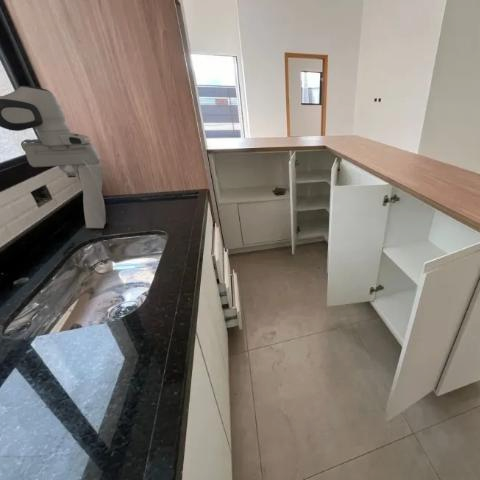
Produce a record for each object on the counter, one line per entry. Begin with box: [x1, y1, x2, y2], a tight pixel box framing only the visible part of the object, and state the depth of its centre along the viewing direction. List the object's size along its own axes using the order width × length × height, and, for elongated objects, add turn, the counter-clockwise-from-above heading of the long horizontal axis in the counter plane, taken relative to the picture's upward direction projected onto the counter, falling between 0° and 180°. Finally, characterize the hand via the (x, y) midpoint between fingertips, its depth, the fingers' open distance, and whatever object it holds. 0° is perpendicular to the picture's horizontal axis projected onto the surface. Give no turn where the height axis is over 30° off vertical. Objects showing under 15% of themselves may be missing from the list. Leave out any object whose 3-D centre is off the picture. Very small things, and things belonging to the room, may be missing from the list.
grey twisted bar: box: [77, 160, 107, 229], centre depth 106 cm, size 8×8×28 cm
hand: (73, 176), depth 101 cm, fingers closed
